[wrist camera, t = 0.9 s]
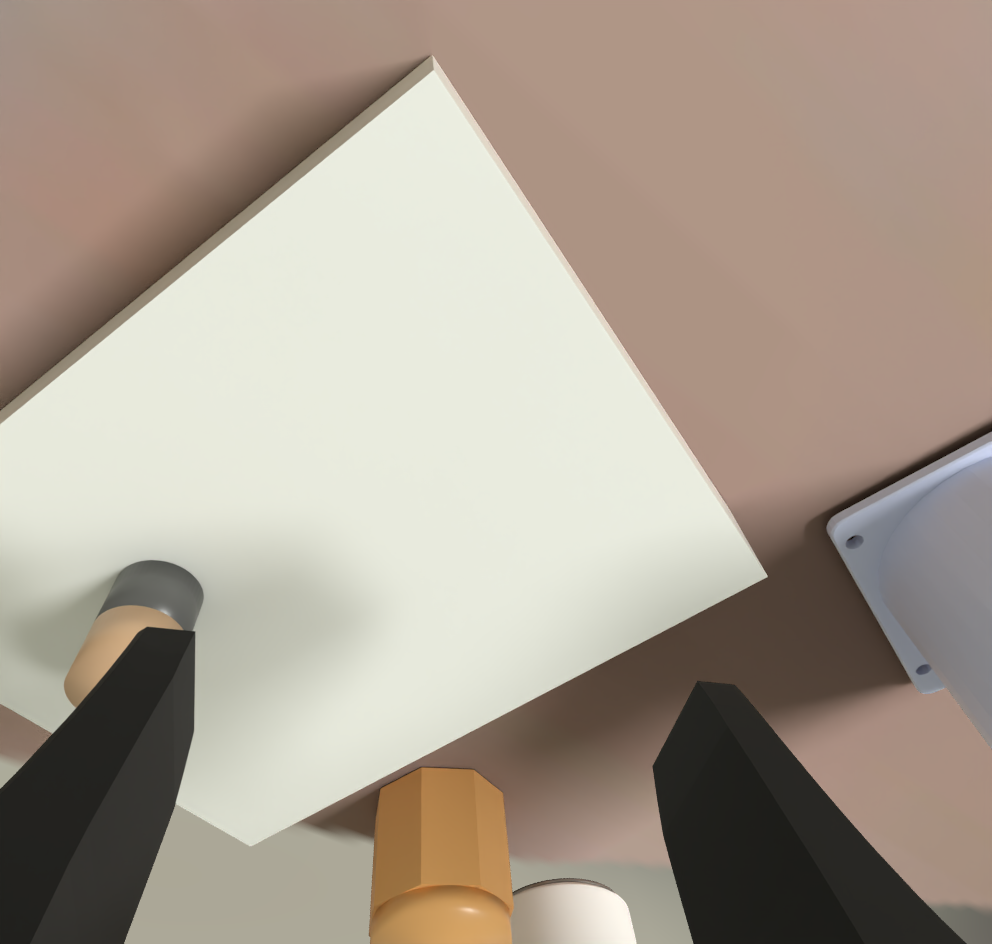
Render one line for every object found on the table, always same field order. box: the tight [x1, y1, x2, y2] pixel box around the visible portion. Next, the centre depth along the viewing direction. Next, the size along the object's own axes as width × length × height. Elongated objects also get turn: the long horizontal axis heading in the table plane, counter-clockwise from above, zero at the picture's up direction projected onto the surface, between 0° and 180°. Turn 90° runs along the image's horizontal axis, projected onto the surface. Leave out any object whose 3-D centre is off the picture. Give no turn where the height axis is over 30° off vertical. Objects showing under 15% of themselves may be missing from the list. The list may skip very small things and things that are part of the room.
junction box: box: [0, 55, 768, 847], centre depth 18 cm, size 14×18×6 cm
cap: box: [369, 767, 514, 944], centre depth 26 cm, size 5×5×5 cm
